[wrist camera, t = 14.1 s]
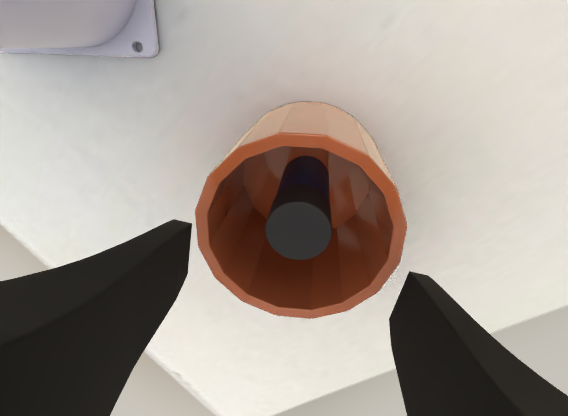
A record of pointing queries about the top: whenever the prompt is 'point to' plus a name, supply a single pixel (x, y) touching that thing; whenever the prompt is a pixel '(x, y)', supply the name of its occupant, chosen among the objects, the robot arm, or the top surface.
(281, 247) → the glue stick
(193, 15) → the top surface
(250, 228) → the pen pot
